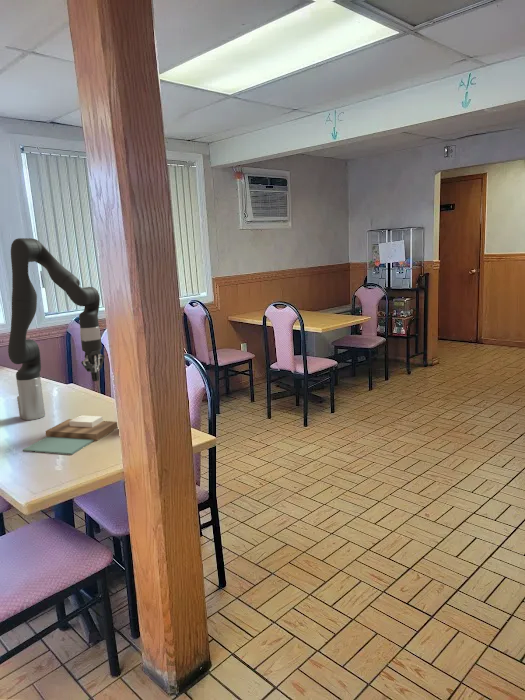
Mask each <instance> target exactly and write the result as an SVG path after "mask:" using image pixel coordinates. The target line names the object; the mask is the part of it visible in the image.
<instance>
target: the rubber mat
mask: <svg viewBox="0 0 525 700" xmlns="http://www.w3.org/2000/svg"><path fill="white" fill-rule="evenodd" d="M93 442H95V441H94V440H93V439H78V438H63V437H48V436H47V437H46V436H45V437H43V438H42V439H40V440H38V441H36V442H34V443H32V444H31V445H29V446H27V447H25V448H23V449H22V451H23V452H28V451H35V452H34V453H41V452H45V453H44V454H54V453H59V454H58V455H67V454H68V455H69V454H70V455H71V456H72V455H74V454H75V452H76V453H77V452H79V451H80V450H81V449H84V448H86V447H87V446H89V445H91V444H92V443H93ZM83 447H84V448H83ZM70 455H69V456H70Z"/></svg>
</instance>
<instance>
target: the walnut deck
mask: <svg viewBox="0 0 525 700" xmlns="http://www.w3.org/2000/svg"><path fill="white" fill-rule="evenodd" d="M70 420H72V418H68V419H65V420H64V421H62V422H61V423H58V424H56V425H54V426H53V427H50V428H48V429H47V430H45V438H46V437H47V436H48V437H63V438H78V439H93V440H94V441H93V442H95V441H96V442H97V441H99V440H101V439H103V438H104V437H105V436H107V435H108V434H111V431H112V432H114V431H115V430H116V429H118V428H119V427H118V422H117V421H113V420H112V421H110V420H103V422H101V423H99V424H97V425H96V426H94V427H77V426H70V423H69V421H70ZM114 429H115V430H114Z"/></svg>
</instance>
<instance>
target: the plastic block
mask: <svg viewBox="0 0 525 700" xmlns="http://www.w3.org/2000/svg"><path fill="white" fill-rule="evenodd" d="M71 419H72V418H71ZM103 421H104V420H103V416H102V415H101V416H99V415H98V416H97V415H79V416H77V417H75V418H74V417H73V419H72V420H70V421H69V423H70V426H77V427H94V426H96V425H97V424H99V423H101V422H103Z"/></svg>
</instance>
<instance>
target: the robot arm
mask: <svg viewBox="0 0 525 700" xmlns="http://www.w3.org/2000/svg"><path fill="white" fill-rule="evenodd" d="M10 261H11V270H12V271H11V274H12V278H11V280H12V286H11V287H12V289H11V290H12V291H11V321H10V322H11V323H10V332H9V339H8V347H7V348H8V349H7V352H8V353H7V355H8V358H9V360H10V361H11V363H13V364H15V365H21V364H22V365H21V366H20V369H19V370H18V371H17V372H16V373H15V378H16V385H17V392H18V396H17V397H16V401H17V406H18V407H17V408H18V414H19V419H22V420H24V421H32V420H37V419H41V418H43V417H45V416H46V410H45V403H44V396H43V395H44V394H43V387H42V380H41V371H42V363H41V352H40V347H39V345H38V343H37V342H36V341H35V340H34V339H32V338H31V339H30V338H28V339H27V334H28V330H29V327H30V325H31V323H32V322H33V320H34V318H35V315H36V312H37V307H38V303H37V302H38V294H37V291H36V289H35V287H34V285H33V283H32V282H31V281H32V280H31V279H30V275H29V263H33V262H35V263H37V264H39V265H41V266H42V267H43V268H44V269H45V271H47V274H48V275H49V278H50V279H51V280H52V281H53V283H54V284H55V285H56V286H58V287H59V288H60V289H61V290H63V291H64V292H65V293H66V295H67V296H68V297H69V299H70V301H71V302H72V303H73V304H75V305H76V306H79V307H84V309H83V311H82V312H80V313H79V315H78V319H79V320H78V322H79V331H80V332H79V335H80V336H79V337H80V342H81V350H82V352H84V360H82V361H81V362H80V363H81V365H82V366H83V368H84V369H85V370H86V372H87V373H89V372H90V374H91V381H92V382H98V381H99V380H100V375H99V374H100V372H99V371H100V370H101V369H102V368H103V364H104V361H105V358H106V356H105V355H104V354H101V350H103V349H102V348H103V345H102V338H101V337H102V336H101V330H100V323H99V317H98V315H99V310H100V301H101V299H100V298H101V297H100V293H99V291H98V290H97V289H96V288H95V287H93V286H87V287H86V286H85V287H81V286H80V285H81V283H80V279H79V278H78V277H77V276H75V275H74V274H73V273H72V272H70V271H69V270H68V269H67V268H65V266H63V265H62V264H61V263H60V262H59V261H58V259H56V258H55V257H54V255H52V253H51V252H49V250H48V249H47V248H46V247H45V246H44V244H43V243H42V242H41V241H40V240H38V239H37V238H36V239H35V238H29V237H28V238H25V237H24V238H23V237H22V238H21V237H19V238H16V239H14V240H13V241H12V242H11V246H10Z"/></svg>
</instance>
